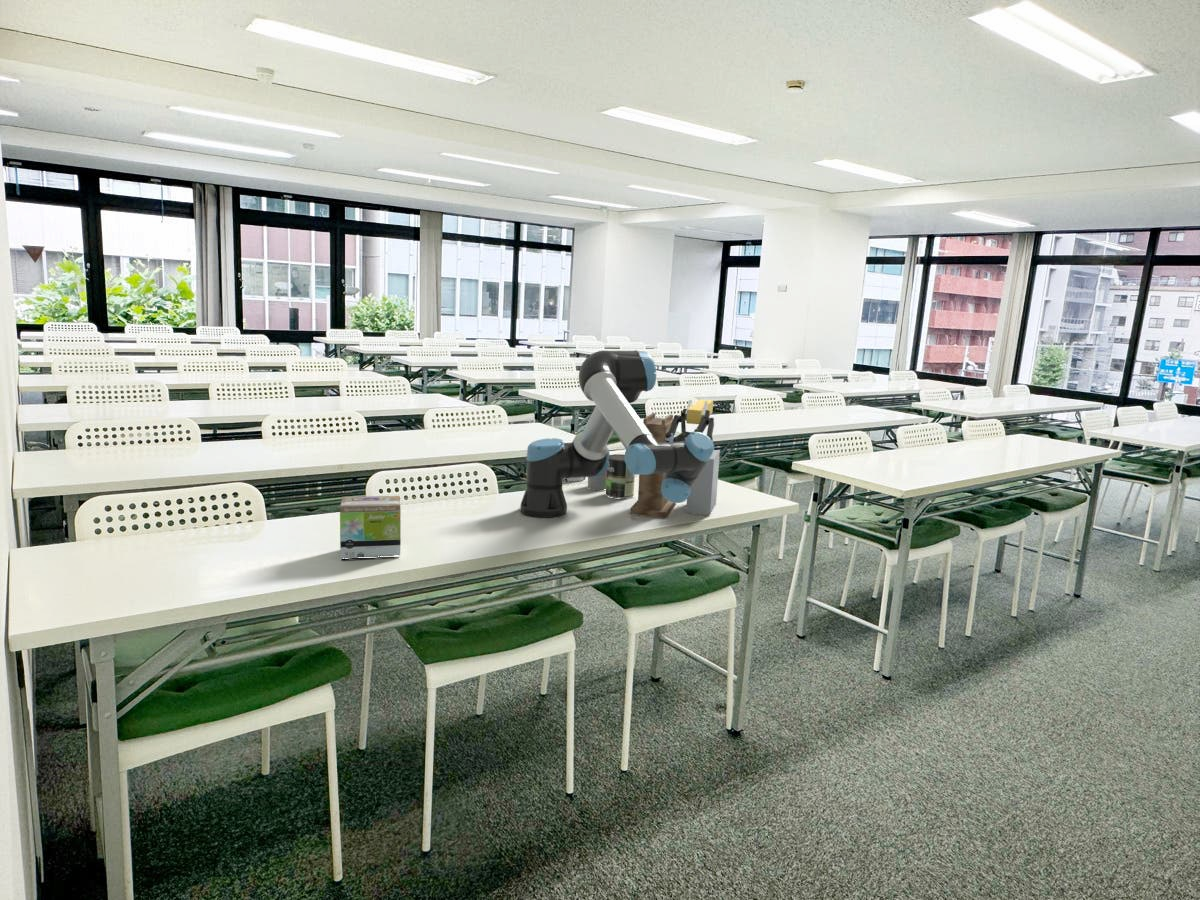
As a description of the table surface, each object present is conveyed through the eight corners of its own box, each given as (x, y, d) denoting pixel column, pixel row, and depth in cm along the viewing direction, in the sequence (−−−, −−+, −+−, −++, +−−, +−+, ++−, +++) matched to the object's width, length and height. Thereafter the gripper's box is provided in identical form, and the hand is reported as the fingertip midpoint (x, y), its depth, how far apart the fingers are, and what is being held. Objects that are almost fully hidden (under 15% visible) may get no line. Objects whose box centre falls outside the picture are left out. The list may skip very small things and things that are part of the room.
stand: (629, 514, 243) (634, 418, 236) (641, 500, 260) (646, 411, 253) (666, 518, 239) (671, 421, 233) (675, 504, 256) (681, 414, 250)
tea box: (340, 562, 189) (338, 506, 186) (342, 549, 199) (340, 495, 196) (401, 558, 194) (400, 503, 191) (400, 546, 203) (399, 493, 200)
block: (686, 423, 213) (687, 409, 212) (699, 411, 237) (700, 399, 236) (700, 424, 212) (701, 410, 211) (712, 412, 236) (713, 400, 235)
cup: (611, 485, 280) (612, 459, 278) (609, 491, 271) (610, 464, 270) (589, 484, 280) (589, 458, 278) (586, 489, 272) (587, 463, 270)
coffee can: (610, 500, 259) (612, 460, 257) (601, 492, 269) (603, 454, 266) (638, 498, 262) (640, 459, 260) (628, 491, 272) (630, 453, 269)
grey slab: (685, 512, 247) (689, 457, 243) (693, 501, 262) (696, 448, 258) (710, 515, 245) (714, 459, 241) (716, 503, 260) (719, 450, 256)
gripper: (654, 463, 206) (670, 412, 223) (716, 469, 202) (727, 416, 219) (652, 442, 201) (669, 392, 218) (716, 448, 197) (727, 396, 214)
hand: (698, 404), depth 218 cm, fingers closed on block, 4 cm apart
